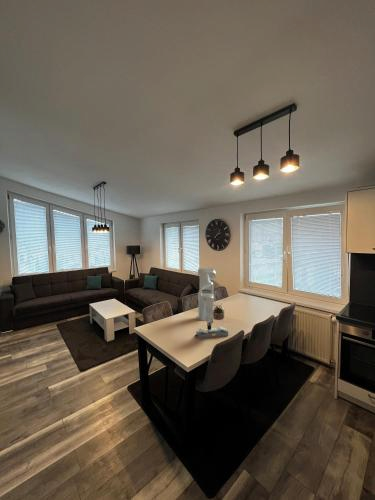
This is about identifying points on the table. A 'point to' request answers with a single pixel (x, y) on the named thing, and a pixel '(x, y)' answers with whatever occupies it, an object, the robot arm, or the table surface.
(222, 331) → the power strip
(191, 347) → the table surface
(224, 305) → the table surface
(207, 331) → the rocker
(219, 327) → the rocker
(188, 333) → the table surface
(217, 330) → the rocker
